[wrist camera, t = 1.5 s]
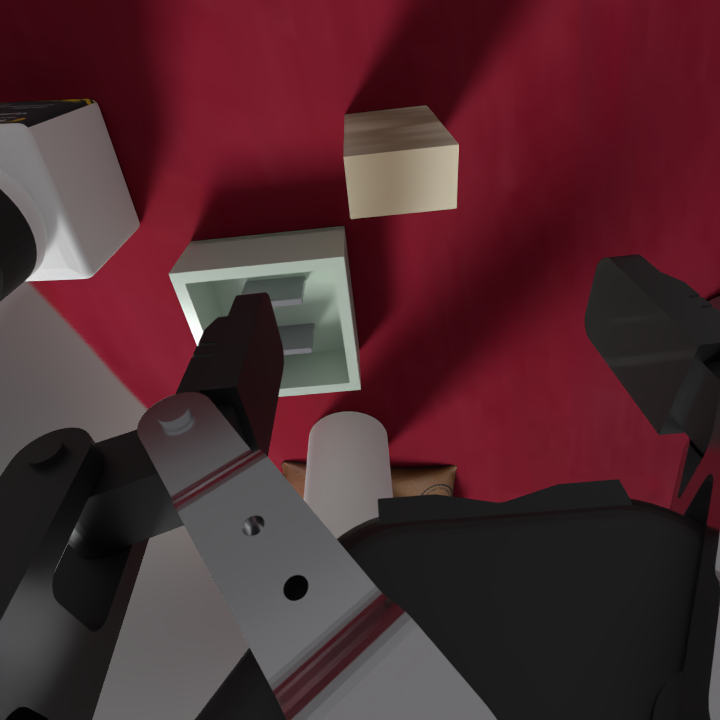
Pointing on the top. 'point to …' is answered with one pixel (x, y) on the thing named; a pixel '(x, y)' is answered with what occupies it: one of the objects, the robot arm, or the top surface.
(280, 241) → the open box
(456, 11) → the top surface
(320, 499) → the cylindrical container
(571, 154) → the top surface
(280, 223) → the top surface
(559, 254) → the top surface
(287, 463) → the sunglasses case
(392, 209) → the beige wooden block
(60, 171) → the medicine bottle
